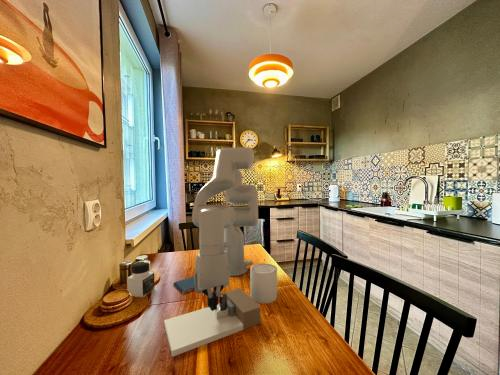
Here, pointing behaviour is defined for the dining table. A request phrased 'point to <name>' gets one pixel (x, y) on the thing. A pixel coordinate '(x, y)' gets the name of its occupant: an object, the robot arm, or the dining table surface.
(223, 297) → the bolt
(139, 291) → the medicine bottle
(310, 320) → the dining table surface
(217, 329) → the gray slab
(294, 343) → the dining table surface
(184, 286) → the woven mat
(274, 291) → the mug
